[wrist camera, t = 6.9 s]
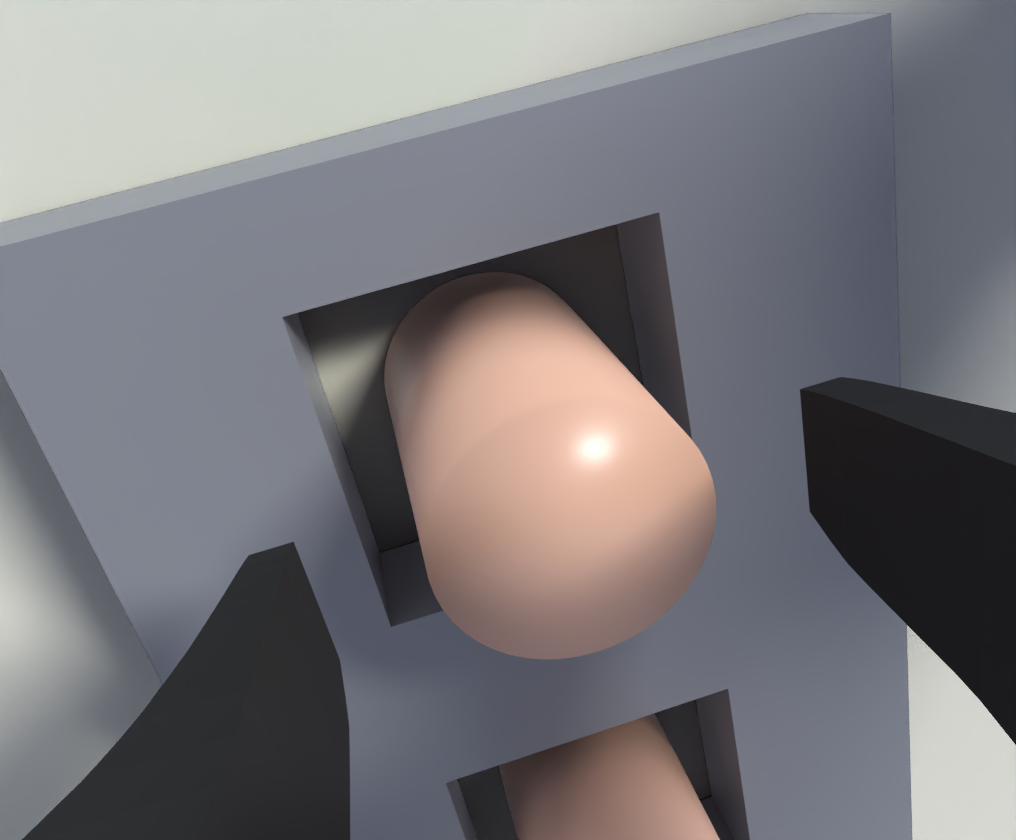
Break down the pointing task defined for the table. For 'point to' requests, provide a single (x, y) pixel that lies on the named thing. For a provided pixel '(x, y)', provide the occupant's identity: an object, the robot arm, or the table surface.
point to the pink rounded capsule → (540, 472)
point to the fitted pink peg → (606, 789)
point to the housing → (665, 375)
